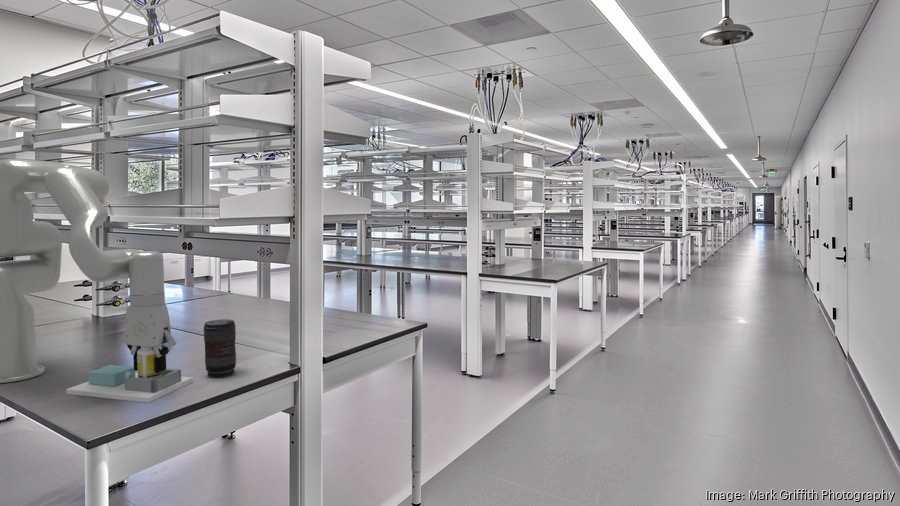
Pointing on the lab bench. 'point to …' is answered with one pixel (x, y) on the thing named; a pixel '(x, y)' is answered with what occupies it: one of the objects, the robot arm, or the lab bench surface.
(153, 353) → the supplement bottle
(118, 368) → the block
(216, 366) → the camera lens
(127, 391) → the board
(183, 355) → the lab bench surface
